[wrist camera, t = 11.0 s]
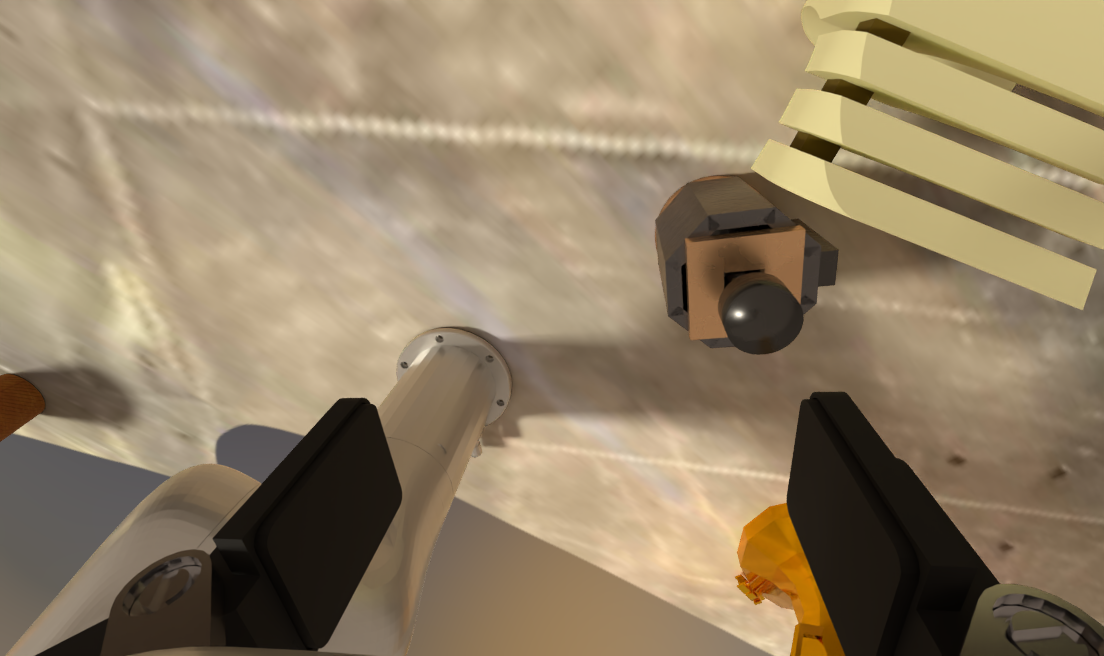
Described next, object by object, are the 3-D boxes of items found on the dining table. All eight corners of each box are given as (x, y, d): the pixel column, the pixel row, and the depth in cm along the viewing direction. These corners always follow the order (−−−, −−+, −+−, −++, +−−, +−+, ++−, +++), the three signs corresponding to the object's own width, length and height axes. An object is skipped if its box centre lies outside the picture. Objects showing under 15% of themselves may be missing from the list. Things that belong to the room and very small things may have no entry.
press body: (783, 276, 43) (841, 347, 31) (658, 288, 45) (670, 359, 33) (788, 165, 39) (858, 199, 27) (651, 184, 41) (661, 223, 29)
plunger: (756, 273, 40) (822, 368, 27) (678, 281, 42) (703, 376, 28) (758, 196, 38) (833, 260, 24) (674, 207, 39) (701, 273, 25)
